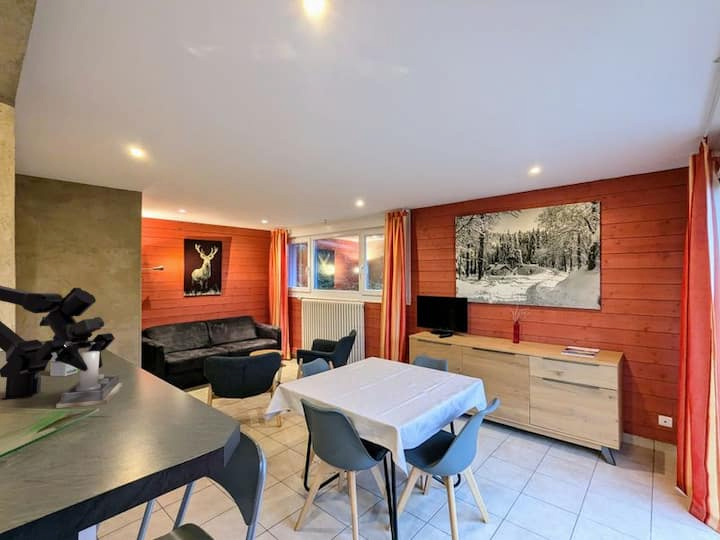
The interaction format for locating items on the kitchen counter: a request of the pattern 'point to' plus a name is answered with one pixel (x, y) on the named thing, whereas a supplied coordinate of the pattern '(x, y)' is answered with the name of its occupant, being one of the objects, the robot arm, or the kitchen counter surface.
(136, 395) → the kitchen counter surface
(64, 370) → the syrup box
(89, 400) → the grey compartment tray
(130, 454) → the kitchen counter surface
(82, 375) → the white bulb
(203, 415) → the kitchen counter surface
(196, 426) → the kitchen counter surface
